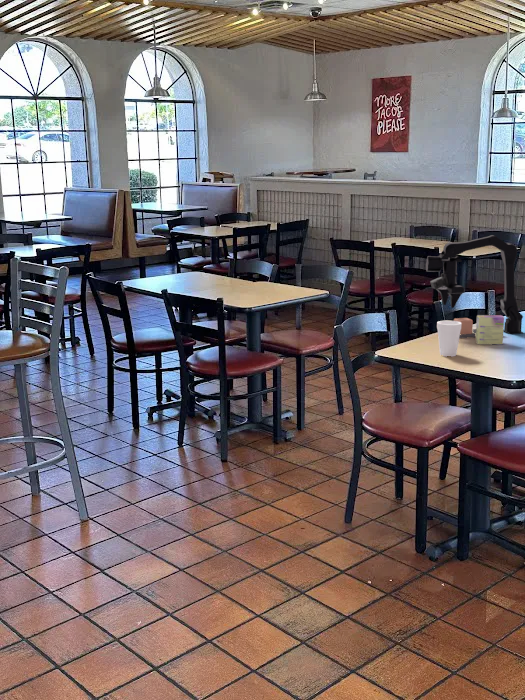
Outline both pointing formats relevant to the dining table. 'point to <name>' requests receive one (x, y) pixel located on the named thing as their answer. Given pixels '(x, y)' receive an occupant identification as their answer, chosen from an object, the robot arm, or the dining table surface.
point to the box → (489, 329)
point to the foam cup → (448, 337)
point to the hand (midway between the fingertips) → (448, 306)
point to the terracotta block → (465, 325)
